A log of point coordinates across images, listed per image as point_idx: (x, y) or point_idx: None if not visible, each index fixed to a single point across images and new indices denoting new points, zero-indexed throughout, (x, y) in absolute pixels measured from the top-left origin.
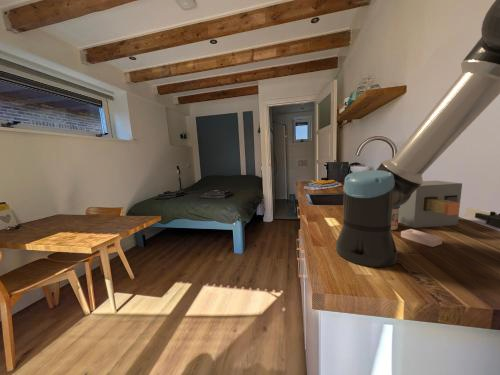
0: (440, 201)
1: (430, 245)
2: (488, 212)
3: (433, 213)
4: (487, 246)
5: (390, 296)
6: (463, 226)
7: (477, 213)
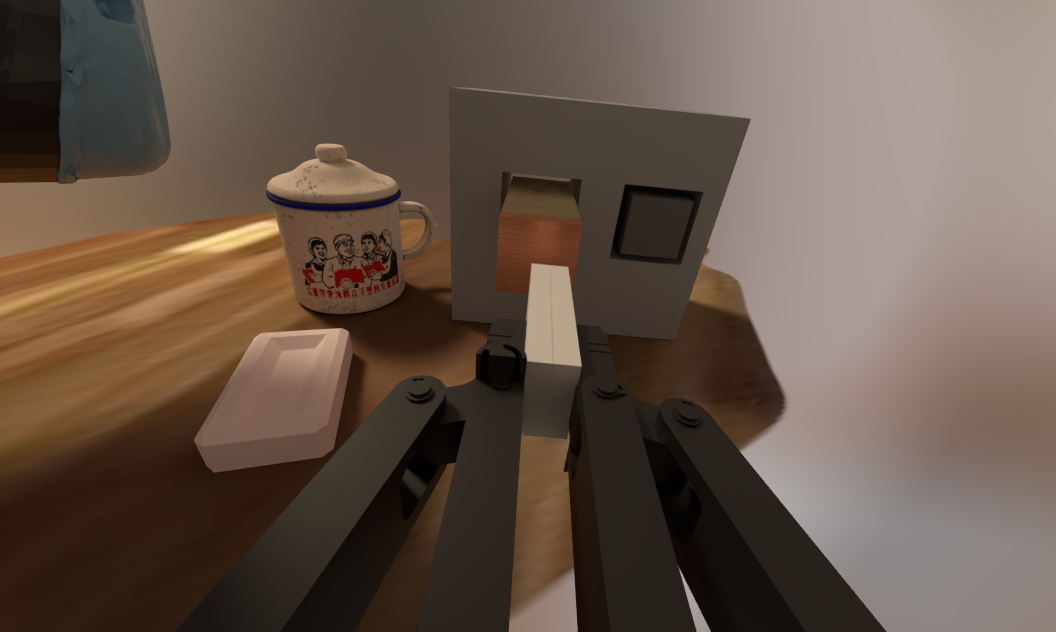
0: (509, 201)
1: (205, 461)
2: (535, 340)
3: None
4: (534, 550)
5: None
6: (684, 354)
7: (495, 326)
